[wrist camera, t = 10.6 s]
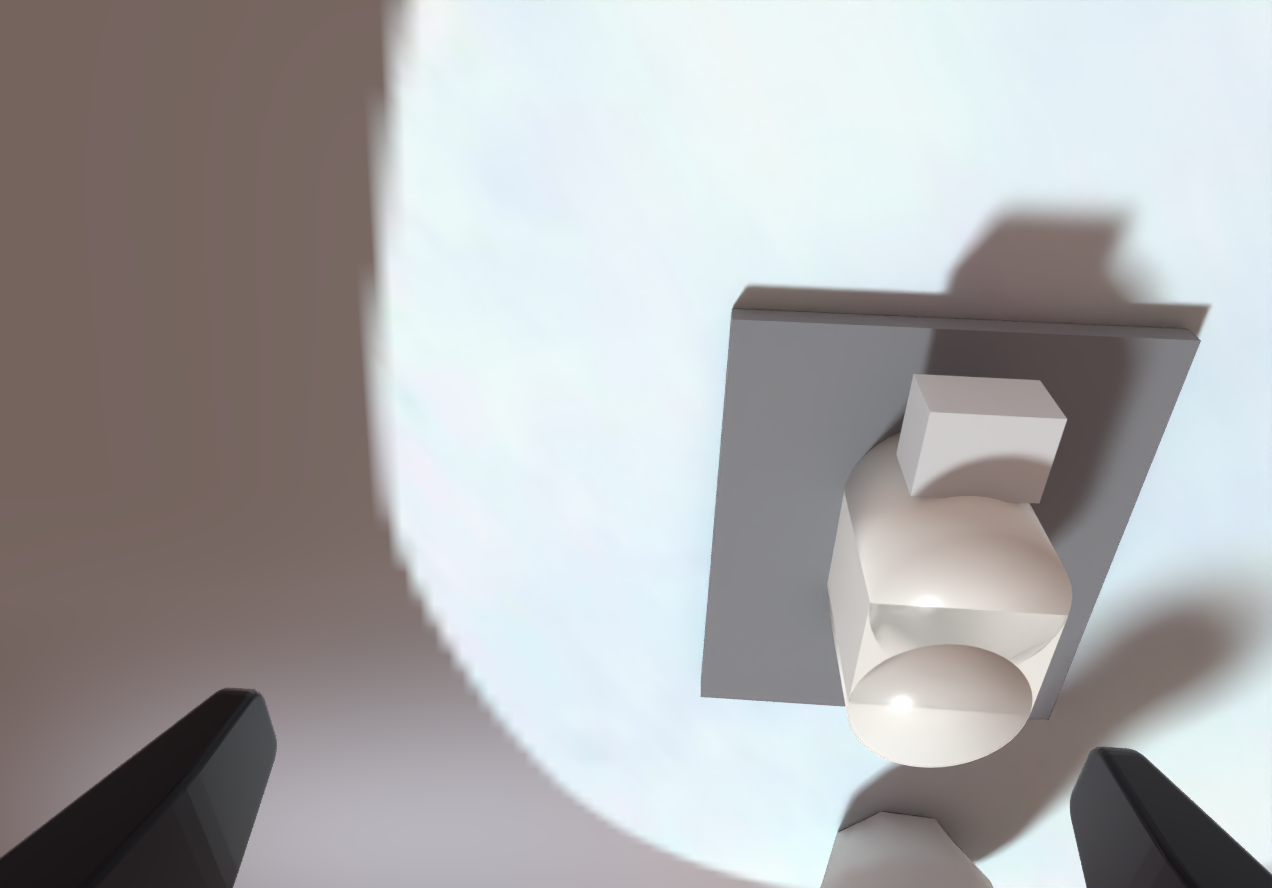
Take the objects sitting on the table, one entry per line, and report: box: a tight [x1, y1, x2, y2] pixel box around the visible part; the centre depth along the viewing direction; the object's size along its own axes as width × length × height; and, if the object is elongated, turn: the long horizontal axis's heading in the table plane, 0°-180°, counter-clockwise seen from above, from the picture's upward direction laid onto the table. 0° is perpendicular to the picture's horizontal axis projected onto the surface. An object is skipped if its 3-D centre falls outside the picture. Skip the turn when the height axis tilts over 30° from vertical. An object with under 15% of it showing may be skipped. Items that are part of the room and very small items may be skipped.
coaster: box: [701, 309, 1201, 720], centre depth 22 cm, size 10×12×1 cm
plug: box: [827, 374, 1072, 768], centre depth 20 cm, size 9×4×4 cm, turn 179°
